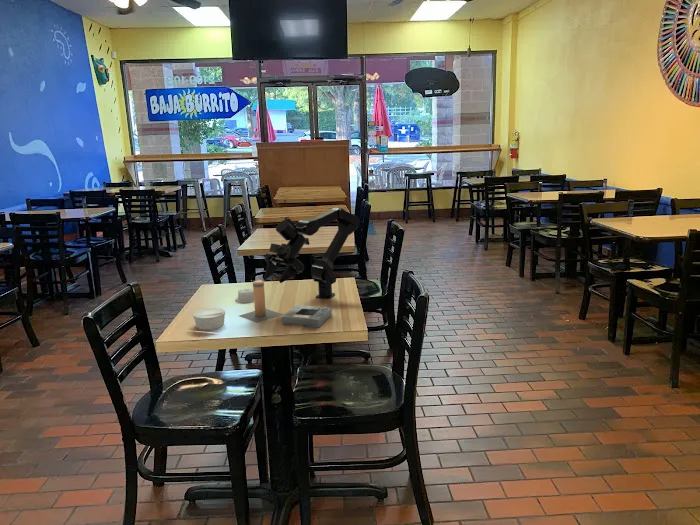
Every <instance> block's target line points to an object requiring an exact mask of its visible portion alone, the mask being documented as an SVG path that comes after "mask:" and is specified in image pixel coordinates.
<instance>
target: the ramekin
mask: <svg viewBox="0 0 700 525" xmlns="http://www.w3.org/2000/svg"><path fill="white" fill-rule="evenodd" d="M225 315H226V310H225V309H223V308H220V307H209V308H203V309H199V310H197V311H195V312H194V313H193V315H192V317H193V319H194V323H195V326H196V328H197V329H200V330H205V331H206V330H214V329H218V328H220V327H222V326H224V324H225Z"/></svg>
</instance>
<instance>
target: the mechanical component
mask: <svg viewBox="0 0 700 525" xmlns="http://www.w3.org/2000/svg"><path fill="white" fill-rule="evenodd" d="M237 294H238V295H237V296H236V297H235V302H236V303H237V302H238V303H241V304H242V303H243V304H245V303H246V304H247V303H254V291H253V288H242V289H240V290H238V292H237Z"/></svg>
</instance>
